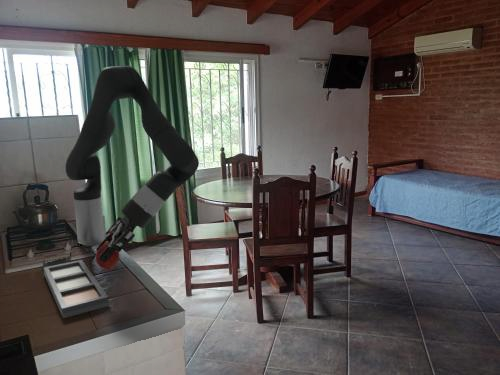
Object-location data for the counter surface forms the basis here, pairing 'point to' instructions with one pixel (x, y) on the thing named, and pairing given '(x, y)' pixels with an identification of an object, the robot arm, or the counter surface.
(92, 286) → the keypad
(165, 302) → the counter surface
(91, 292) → the terracotta key
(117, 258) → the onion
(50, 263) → the phone
